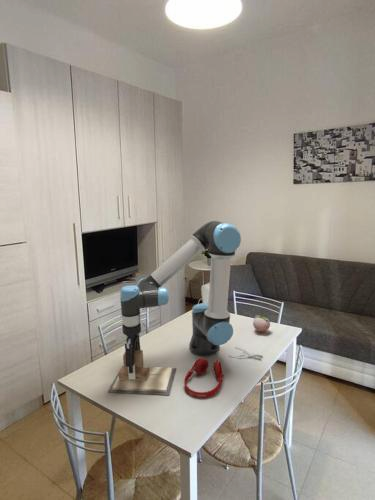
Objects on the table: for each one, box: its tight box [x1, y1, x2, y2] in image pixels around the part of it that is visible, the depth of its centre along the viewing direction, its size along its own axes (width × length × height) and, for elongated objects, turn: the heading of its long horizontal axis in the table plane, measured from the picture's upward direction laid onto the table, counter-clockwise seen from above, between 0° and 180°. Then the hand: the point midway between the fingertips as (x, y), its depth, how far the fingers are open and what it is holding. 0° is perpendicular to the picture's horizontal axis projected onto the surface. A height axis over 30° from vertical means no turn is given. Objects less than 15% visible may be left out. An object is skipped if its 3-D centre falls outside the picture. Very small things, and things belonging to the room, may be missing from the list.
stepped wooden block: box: [118, 349, 150, 381], centre depth 139 cm, size 12×5×11 cm, turn 84°
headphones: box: [183, 357, 225, 399], centre depth 136 cm, size 15×7×20 cm
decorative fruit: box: [252, 315, 271, 333], centre depth 181 cm, size 9×8×10 cm
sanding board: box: [107, 366, 177, 397], centre depth 140 cm, size 25×19×2 cm
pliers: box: [228, 346, 264, 362], centre depth 158 cm, size 10×2×15 cm
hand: (134, 373), depth 140 cm, fingers open, 7 cm apart
